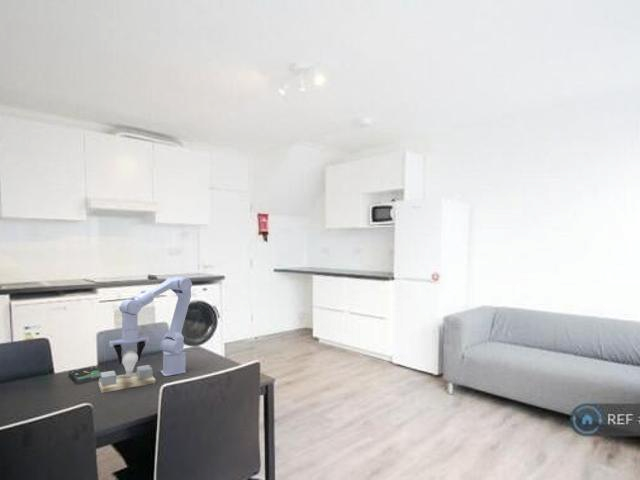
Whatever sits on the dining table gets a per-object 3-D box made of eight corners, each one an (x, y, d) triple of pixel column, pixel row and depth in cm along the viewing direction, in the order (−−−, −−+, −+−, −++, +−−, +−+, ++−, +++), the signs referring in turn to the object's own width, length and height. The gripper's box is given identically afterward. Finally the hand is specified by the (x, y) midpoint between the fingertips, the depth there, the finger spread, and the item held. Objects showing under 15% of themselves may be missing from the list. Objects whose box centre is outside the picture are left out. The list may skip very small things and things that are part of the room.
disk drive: (67, 377, 170) (77, 386, 159) (68, 371, 170) (77, 379, 159) (94, 372, 177) (104, 379, 167) (94, 366, 177) (104, 373, 167)
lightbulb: (140, 377, 157) (141, 350, 159) (124, 380, 153) (125, 352, 154) (133, 375, 162) (134, 348, 163) (117, 378, 157) (118, 350, 158)
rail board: (149, 375, 172) (150, 364, 172) (155, 382, 163) (155, 371, 163) (98, 384, 160) (98, 372, 160) (101, 392, 151) (101, 380, 151)
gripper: (146, 324, 166) (146, 356, 166) (108, 329, 157) (108, 361, 157) (150, 327, 160) (149, 360, 160) (111, 332, 152) (110, 366, 152)
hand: (129, 361), depth 158 cm, fingers closed on lightbulb, 6 cm apart
